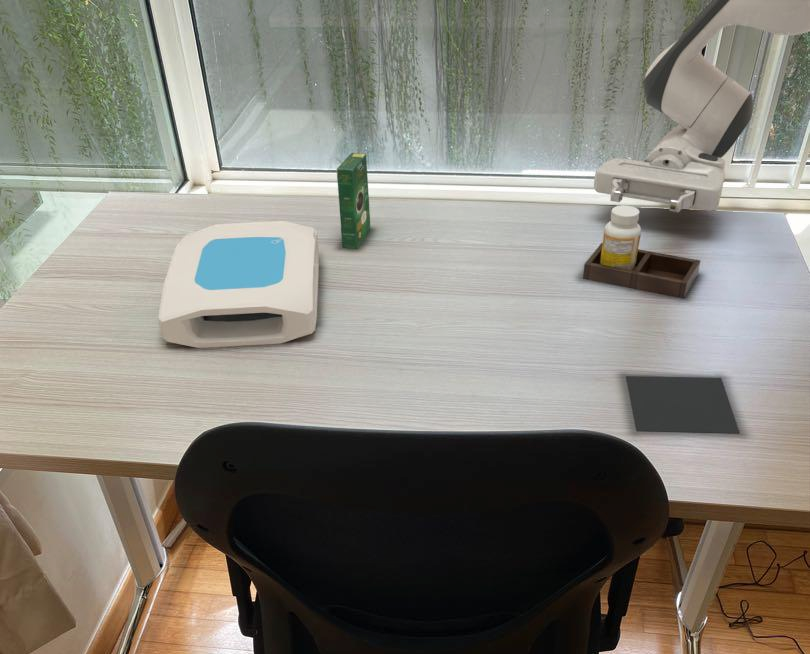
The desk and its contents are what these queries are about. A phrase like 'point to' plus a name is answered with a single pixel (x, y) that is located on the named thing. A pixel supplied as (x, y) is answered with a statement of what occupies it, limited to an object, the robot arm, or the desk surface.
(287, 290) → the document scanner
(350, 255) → the desk surface
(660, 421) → the mat
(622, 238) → the supplement bottle
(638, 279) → the jar stand
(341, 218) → the coffee box
